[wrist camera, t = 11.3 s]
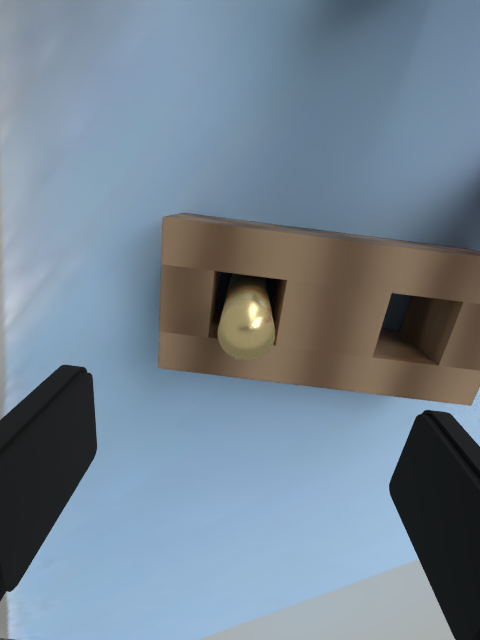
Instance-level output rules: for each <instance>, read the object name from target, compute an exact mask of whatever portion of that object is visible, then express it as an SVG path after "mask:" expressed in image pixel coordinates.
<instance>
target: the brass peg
mask: <svg viewBox="0 0 480 640" xmlns="http://www.w3.org/2000/svg"><path fill="white" fill-rule="evenodd" d="M218 340H219V343H220V345H221V347H222V349H223V350H224V351H225V352H226V353H227V354H228V355H230V356H232V357H234V358H236V359H239V360H254V359H257V358H260V357H262V356H263V355H265V354H266V353H267V352H268V351H269V350H270V349H271V347H272V345H273V343H274V340H275V328H274V322H273V317H272V311H271V306H270V300H269V295H268V290H267V284H266V280H265V277H259V276H251V275H243V274H235V273H234V274H233V276H232V277H231V280H230V283H229V287H228V291H227V295H226V299H225V303H224V307H223V311H222V315H221V319H220V323H219V327H218Z"/></svg>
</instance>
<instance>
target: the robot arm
mask: <svg viewBox="0 0 480 640" xmlns="http://www.w3.org/2000/svg"><path fill="white" fill-rule="evenodd" d="M96 450H97V438H96V422H95V407H94V392H93V378H92V374H91V373H87V370H86V368H84V367H79V366H71V365H62V366H60V367H59V368H58V369H57V370H56V371H55V372H53V373H52V374H51V375H50V376H49V377H48V378H47V379H46V380H45V381H43V382H42V383H41V384H40V385H39V386H38V387H37V388H36V389H35V390H33V391H32V392H31V393H30V394H29V395H28V396H27V397H26V398H24V399H23V400H22V401H21V402H20V403H19V404H18V405H17V406H16V407H14V408H13V409H12V410H11V411H10V412H9V413H8V414H7V415H6V416H4V417H3V418H2V419H1V420H0V601H1V599H2V598H3V595H4V594H5V593H6V591H8V592H11V591H12V590H13V589H14V588H15V587H16V586H17V585H18V583H19V582H20V580H21V579H22V577H23V575H24V574H25V572H26V570H27V569H28V567H29V565H30V564H31V562H32V560H33V559H34V557H35V555H36V554H37V552H38V550H39V549H40V547H41V545H42V544H43V542H44V540H45V539H46V537H47V535H48V534H49V532H50V530H51V529H52V527H53V526H54V524H55V522H56V521H57V519H58V517H59V516H60V514H61V512H62V511H63V509H64V507H65V506H66V504H67V502H68V501H69V499H70V497H71V496H72V494H73V492H74V491H75V489H76V487H77V486H78V484H79V482H80V481H81V479H82V477H83V476H84V474H85V472H86V471H87V469H88V467H89V466H90V464H91V462H92V461H93V459H94V457H95V454H96ZM389 491H390V495H391V498H392V500H393V502H394V504H395V507H396V509H397V511H398V513H399V516H400V518H401V520H402V522H403V524H404V527H405V529H406V531H407V533H408V536H409V538H410V540H411V542H412V545H413V547H414V549H415V551H416V553H417V556H418V558H419V560H420V562H421V565H422V567H423V569H424V571H425V573H426V576H427V578H428V580H429V582H430V585H431V587H432V589H433V591H434V593H435V596H436V598H437V600H438V603H439V605H440V607H441V609H442V611H443V614H444V616H445V618H446V620H447V623H448V625H449V627H450V629H451V632H452V634H453V636H454V638H455V639H456V640H480V447H479V445H478V444H477V443H476V442H475V441H474V440H473V439H472V438H471V436H470V435H469V434H468V433H467V432H466V431H465V430H464V428H463V427H462V426H461V425H460V424H459V423H458V422H457V421H456V419H455V418H454V417H453V416H452V415H451V414H450V413H447V412H439V411H431V410H426V411H424V412H423V413H422V414H420V415H418V416H417V417H416V419H415V421H414V424H413V426H412V429H411V431H410V433H409V436H408V438H407V441H406V443H405V446H404V448H403V451H402V453H401V456H400V458H399V461H398V463H397V466H396V468H395V471H394V473H393V476H392V478H391V481H390V484H389ZM0 640H13V639H3V638H0Z"/></svg>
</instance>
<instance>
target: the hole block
mask: <svg viewBox="0 0 480 640" xmlns="http://www.w3.org/2000/svg"><path fill="white" fill-rule="evenodd" d="M221 272H227V273H235V274H243V275H251V276H259V277H267V278H275V279H276V283H275V290H274V296H273V302H272V308H271V311H272V317H273V322H274V328H275V340H274V343H273V345H272V347H271V349H270V350H269V351H268V352H267V353H266V354H265V355H263V356H262V357H260V358H257V359H254V360H239V359H236V358H234V357H232V356H230V355H228V354H227V353H226V352H225V351H224V350H223V349H222V347H221V345H220V343H219V340H218V327H219V323H220V319H221V315H222V311H223V309H218V308H217V304H218V294H219V284H220V274H221ZM392 293H396V294H404V295H411V297H410V300H409V303H408V306H407V309H406V313H405V316H404V319H403V322H402V325H401V328H400V331H397V330H389V329H381V327H382V324H383V320H384V317H385V314H386V311H387V307H388V304H389V301H390V297H391V294H392ZM158 368H162V369H170V370H178V371H187V372H195V373H203V374H212V375H220V376H228V377H237V378H245V379H253V380H262V381H270V382H278V383H287V384H295V385H303V386H312V387H320V388H328V389H337V390H345V391H353V392H362V393H370V394H378V395H387V396H395V397H403V398H412V399H420V400H428V401H437V402H445V403H453V404H462V405H470V406H471V405H472V403H473V400H474V398H475V396H476V394H477V392H478V389H479V387H480V251H475V250H471V249H464V248H456V247H448V246H440V245H433V244H425V243H417V242H409V241H401V240H393V239H385V238H377V237H369V236H361V235H354V234H346V233H338V232H330V231H322V230H314V229H306V228H298V227H290V226H282V225H275V224H267V223H259V222H251V221H243V220H235V219H227V218H219V217H211V216H203V215H196V214H188V213H181V214H176V215H171V216H166V217H163V222H162V256H161V289H160V322H159V356H158Z"/></svg>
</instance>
